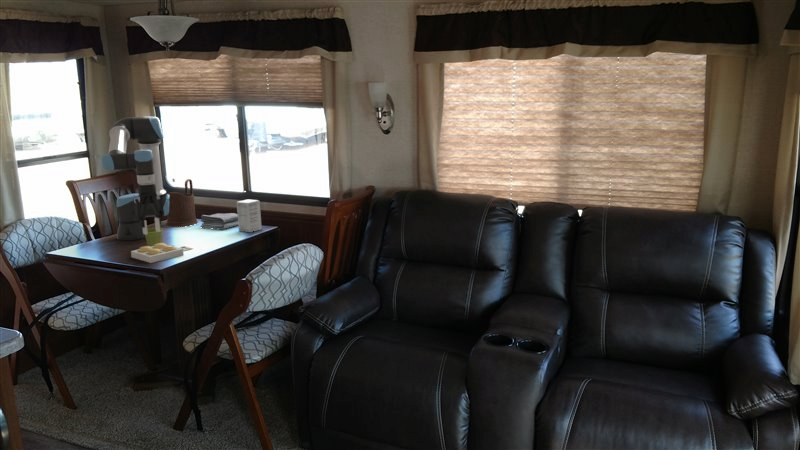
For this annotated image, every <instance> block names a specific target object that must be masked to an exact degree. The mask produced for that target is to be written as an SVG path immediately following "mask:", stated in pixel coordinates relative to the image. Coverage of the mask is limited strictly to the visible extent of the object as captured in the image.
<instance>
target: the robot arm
mask: <svg viewBox="0 0 800 450" xmlns="http://www.w3.org/2000/svg"><path fill="white" fill-rule="evenodd" d="M108 135H109V136H108V137H109V139H110V140H109V145H108V146H109V147H108V152H107V153H104V154H102V155H101V163H102V168H103V170H104V171H120V170H121V171H123V170H135V171H136V180H137V189H138V190H137V191H138V193H129V194H124V195H121V196H119V197H117V199H116V210H117V215H118V216H117V217H118V228H117V233H116V239H117V240H119V241H134V240H135V241H136V240H141V239H146V237H145V235H144V234H146V235H147V234H148V232H147V229H148V225H147V223H148V222H147V220H145V219H146V218H151V217H152V218H154V225H155V227H154V228H156V231H157V232H160V228H161V224H162V220H161V219H162V218H163V216H167V215H168V214H169V198H170V195H169V194H167V193H168V192H167V190H166V189H164V184H163V175H162V167H161V158H160V156H161V155H160V149H159V148H160V147H159V145H160V144H161V143H162V140H163V139H164V132H163V129H162V124H161V121H160V118H159V117H158V116H134V117H133V116H132V117H131V116H127V117H124V118H121V119H119V120H117V121H115V122H114V123H113V125H111V127H110V129H109V133H108ZM132 140H133V141H137V144H138V145H139V146H140V149H136V150H135V151H134V152H127V149H128V148H127V147H128V141H132Z"/></svg>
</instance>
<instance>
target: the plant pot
mask: <svg viewBox="0 0 800 450" xmlns="http://www.w3.org/2000/svg"><path fill="white" fill-rule="evenodd" d="M163 229H164V228H161V227H160V232H157V231H156V228H155V227H152V228H147V232H148V234H147V235H146V234H144V235H145V240H146V243H147V246H150V247H152V246H154V244H157V243H162V233H163Z"/></svg>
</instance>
